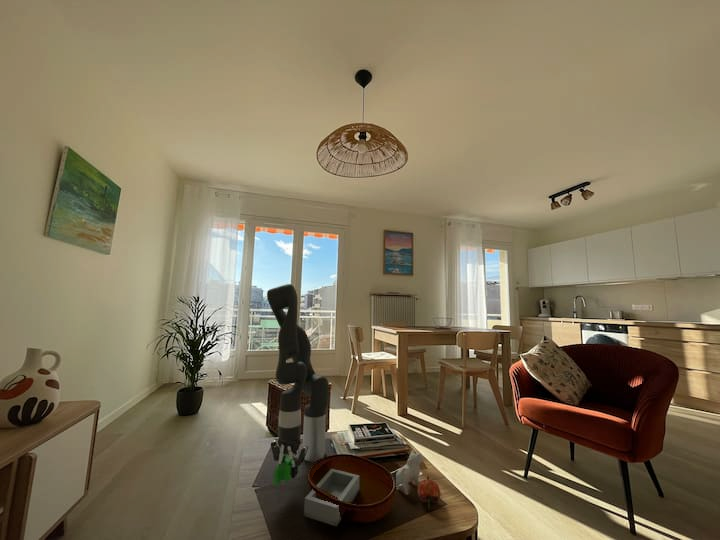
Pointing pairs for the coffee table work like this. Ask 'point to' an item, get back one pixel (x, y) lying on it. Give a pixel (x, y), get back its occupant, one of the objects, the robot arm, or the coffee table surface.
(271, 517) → the coffee table surface
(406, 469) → the dog figurine
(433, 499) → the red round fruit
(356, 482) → the bin
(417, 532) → the coffee table surface
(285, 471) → the pipe clamp
